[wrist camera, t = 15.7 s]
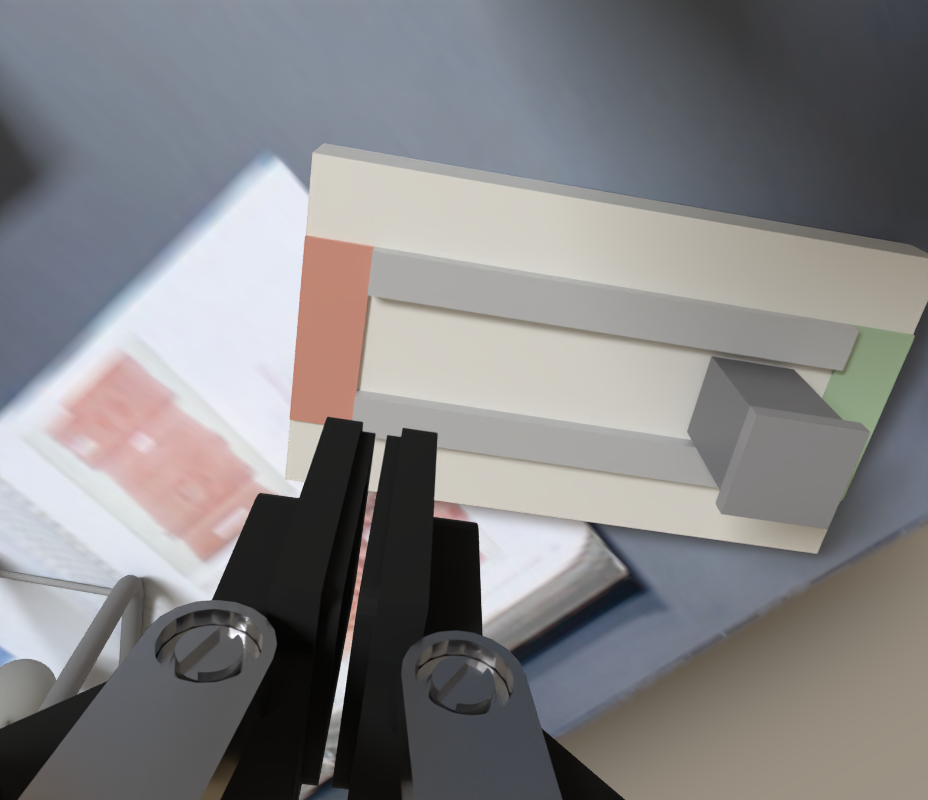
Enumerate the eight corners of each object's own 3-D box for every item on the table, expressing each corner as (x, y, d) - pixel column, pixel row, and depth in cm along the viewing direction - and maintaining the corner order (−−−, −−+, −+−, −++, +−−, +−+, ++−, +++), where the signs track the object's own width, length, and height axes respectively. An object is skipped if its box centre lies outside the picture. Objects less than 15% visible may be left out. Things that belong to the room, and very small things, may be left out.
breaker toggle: (707, 349, 37) (757, 414, 30) (802, 364, 37) (870, 432, 31) (679, 435, 39) (720, 514, 32) (769, 449, 39) (828, 529, 33)
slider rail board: (323, 142, 36) (309, 155, 32) (909, 244, 38) (955, 266, 34) (296, 450, 42) (282, 487, 39) (795, 521, 45) (823, 563, 41)
